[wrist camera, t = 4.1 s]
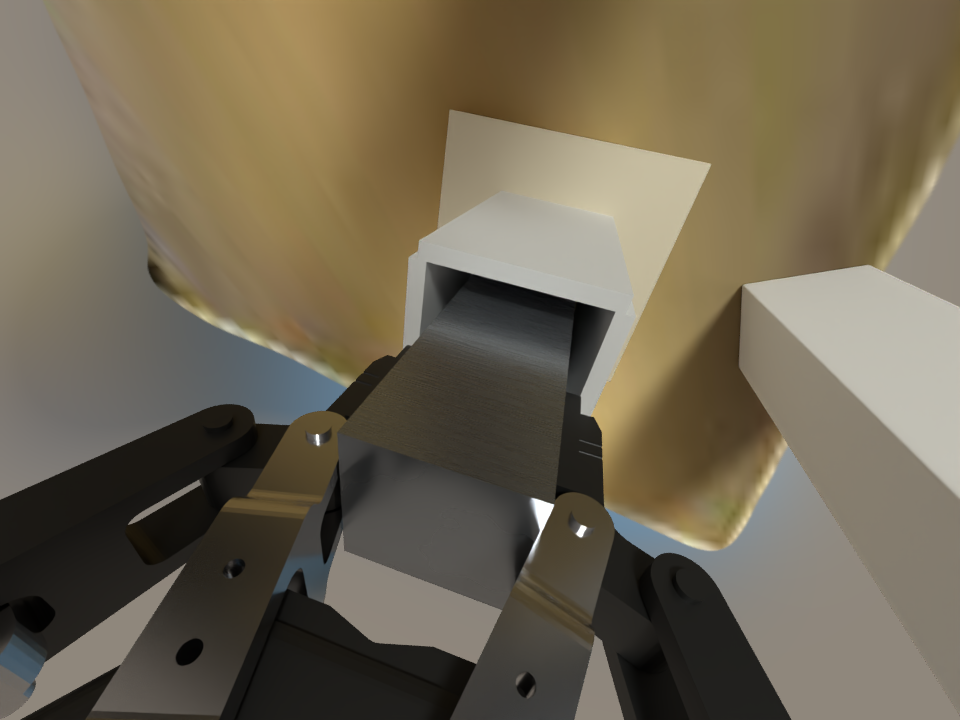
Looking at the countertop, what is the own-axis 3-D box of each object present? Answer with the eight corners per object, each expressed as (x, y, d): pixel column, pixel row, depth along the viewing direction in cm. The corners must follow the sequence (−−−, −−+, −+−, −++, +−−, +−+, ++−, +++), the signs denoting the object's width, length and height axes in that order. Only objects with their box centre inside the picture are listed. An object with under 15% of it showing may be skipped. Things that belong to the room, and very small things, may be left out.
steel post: (515, 221, 22) (331, 426, 7) (583, 238, 22) (561, 503, 6) (500, 291, 25) (341, 559, 9) (561, 307, 24) (504, 621, 9)
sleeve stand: (457, 111, 21) (279, 77, 9) (703, 162, 20) (884, 205, 8) (433, 320, 29) (319, 454, 17) (609, 370, 27) (622, 558, 15)
